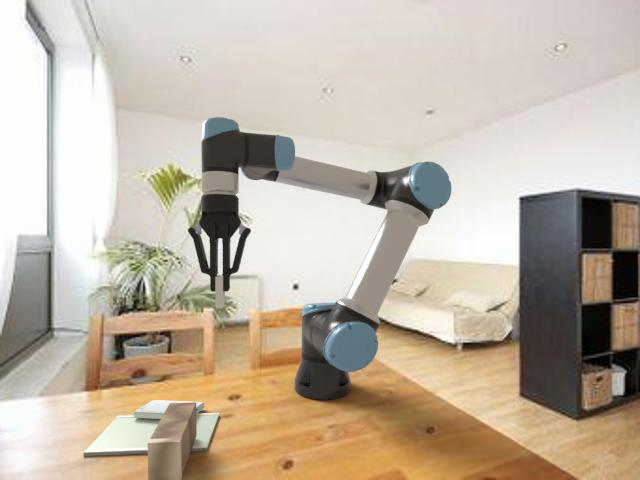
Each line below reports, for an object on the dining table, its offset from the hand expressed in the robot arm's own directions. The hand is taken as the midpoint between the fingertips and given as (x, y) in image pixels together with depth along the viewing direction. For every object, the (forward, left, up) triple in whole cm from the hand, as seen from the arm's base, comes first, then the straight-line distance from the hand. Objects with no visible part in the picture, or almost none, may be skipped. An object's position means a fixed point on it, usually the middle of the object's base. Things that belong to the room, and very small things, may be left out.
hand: (220, 306), depth 78 cm
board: (+12, +1, -26) cm, 28 cm away
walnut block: (+6, +5, -21) cm, 23 cm away
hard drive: (+12, -7, -25) cm, 29 cm away
